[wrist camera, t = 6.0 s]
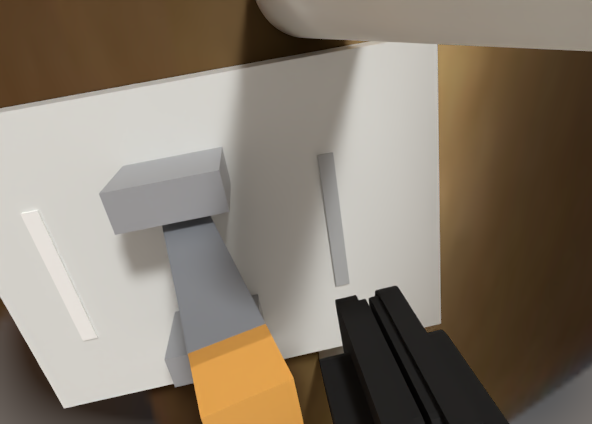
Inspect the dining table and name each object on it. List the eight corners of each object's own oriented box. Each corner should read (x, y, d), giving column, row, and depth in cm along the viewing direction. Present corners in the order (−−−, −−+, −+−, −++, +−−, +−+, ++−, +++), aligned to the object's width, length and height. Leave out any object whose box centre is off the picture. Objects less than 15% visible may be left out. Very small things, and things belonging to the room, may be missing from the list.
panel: (414, 33, 16) (481, 32, 12) (423, 299, 21) (471, 366, 17) (-55, 118, 15) (-175, 153, 11) (79, 375, 20) (36, 467, 16)
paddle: (205, 205, 15) (293, 377, 7) (232, 303, 16) (326, 527, 9) (160, 218, 14) (200, 418, 6) (193, 316, 16) (256, 565, 8)
